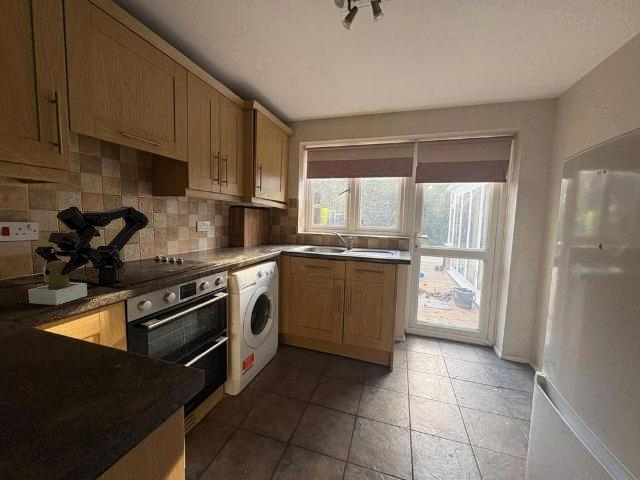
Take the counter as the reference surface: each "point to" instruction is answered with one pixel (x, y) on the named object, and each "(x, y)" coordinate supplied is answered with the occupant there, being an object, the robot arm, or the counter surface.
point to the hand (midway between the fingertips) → (54, 274)
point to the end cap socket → (57, 294)
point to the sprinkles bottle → (46, 277)
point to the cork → (57, 275)
